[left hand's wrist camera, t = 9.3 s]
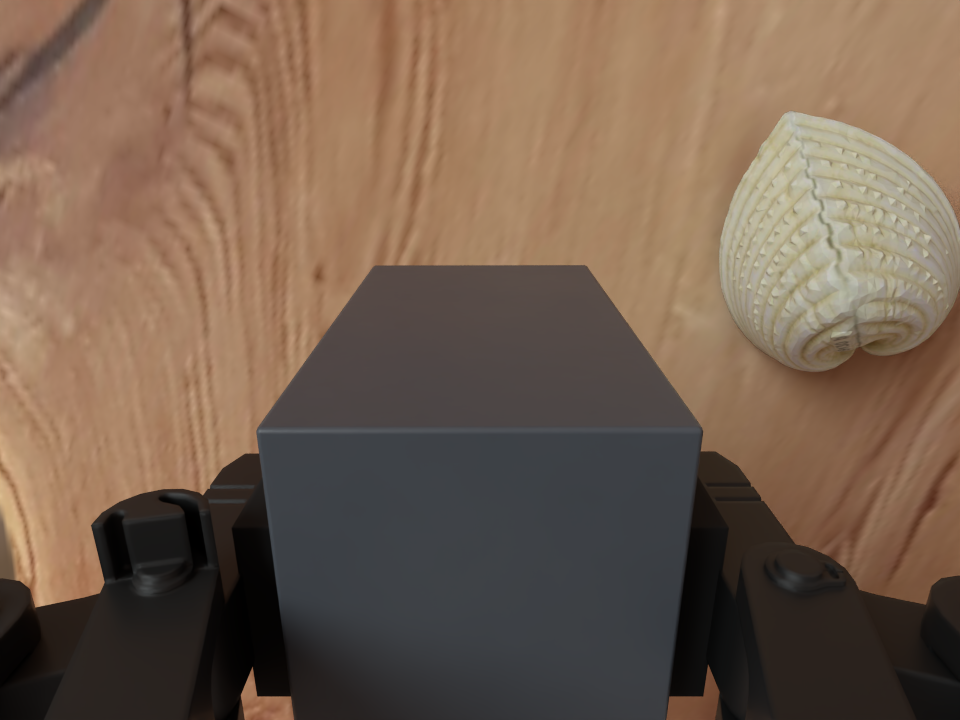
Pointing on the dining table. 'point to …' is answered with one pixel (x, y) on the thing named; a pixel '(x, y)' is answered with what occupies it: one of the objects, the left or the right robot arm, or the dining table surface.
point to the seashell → (837, 247)
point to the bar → (480, 503)
